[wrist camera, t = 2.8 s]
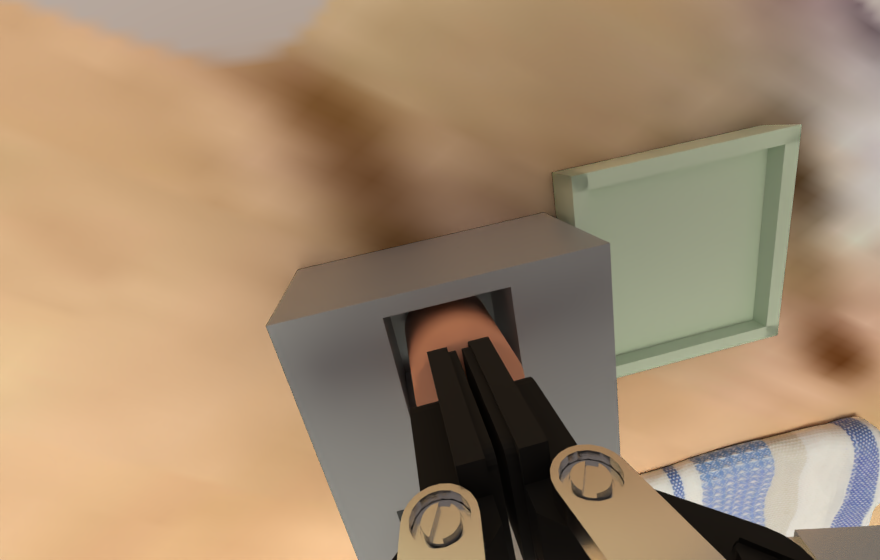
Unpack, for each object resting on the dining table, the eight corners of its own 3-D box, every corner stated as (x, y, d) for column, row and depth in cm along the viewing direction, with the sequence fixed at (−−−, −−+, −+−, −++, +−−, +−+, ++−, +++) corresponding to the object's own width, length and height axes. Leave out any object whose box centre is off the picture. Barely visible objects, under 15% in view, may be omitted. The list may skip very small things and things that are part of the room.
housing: (543, 212, 17) (610, 242, 12) (572, 485, 22) (626, 580, 17) (297, 269, 16) (265, 326, 11) (389, 537, 21) (394, 650, 17)
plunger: (481, 277, 14) (517, 326, 10) (494, 352, 15) (531, 419, 12) (395, 298, 14) (403, 355, 10) (414, 372, 15) (427, 447, 11)
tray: (761, 125, 17) (802, 124, 15) (745, 319, 20) (777, 335, 18) (552, 172, 16) (571, 176, 14) (570, 364, 19) (587, 385, 18)
